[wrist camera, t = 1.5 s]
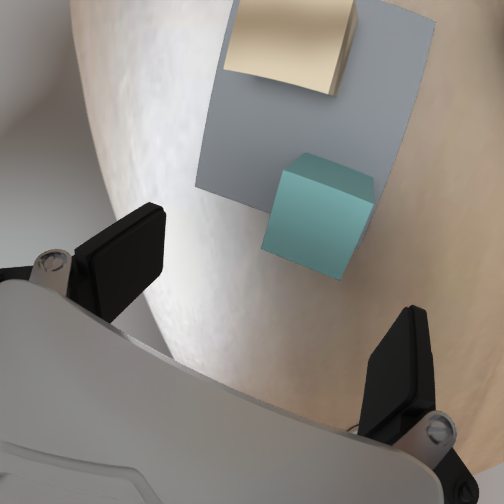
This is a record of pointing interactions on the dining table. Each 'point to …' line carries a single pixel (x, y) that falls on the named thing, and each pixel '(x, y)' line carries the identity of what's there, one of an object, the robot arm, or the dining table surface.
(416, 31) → the build board
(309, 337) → the dining table surface
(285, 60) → the beech block
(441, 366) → the dining table surface
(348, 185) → the teal block
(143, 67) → the dining table surface
